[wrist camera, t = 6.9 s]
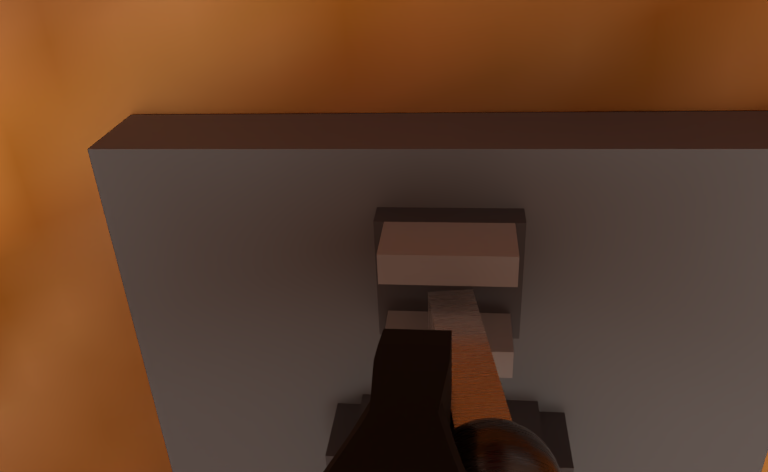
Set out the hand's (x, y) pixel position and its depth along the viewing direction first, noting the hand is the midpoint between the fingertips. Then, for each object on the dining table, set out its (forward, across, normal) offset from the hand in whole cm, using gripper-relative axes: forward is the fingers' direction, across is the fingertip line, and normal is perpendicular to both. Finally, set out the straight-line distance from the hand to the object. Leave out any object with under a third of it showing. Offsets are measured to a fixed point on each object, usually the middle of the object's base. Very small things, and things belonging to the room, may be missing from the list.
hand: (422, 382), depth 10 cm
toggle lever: (+3, 0, 0) cm, 3 cm away
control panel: (+6, 0, +10) cm, 12 cm away
